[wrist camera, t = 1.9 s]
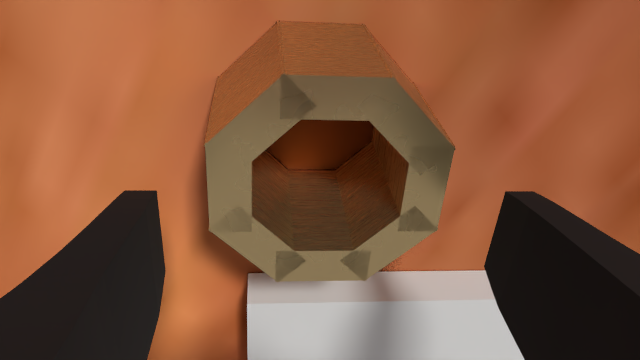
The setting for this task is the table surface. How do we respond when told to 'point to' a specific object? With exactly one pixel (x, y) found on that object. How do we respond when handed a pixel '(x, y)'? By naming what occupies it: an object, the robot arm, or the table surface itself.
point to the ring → (322, 185)
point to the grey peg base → (378, 318)
